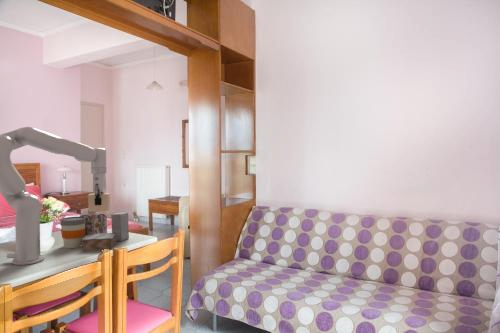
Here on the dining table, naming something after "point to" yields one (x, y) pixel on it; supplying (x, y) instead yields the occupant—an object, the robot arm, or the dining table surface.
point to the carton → (104, 202)
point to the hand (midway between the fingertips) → (99, 203)
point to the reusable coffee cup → (73, 231)
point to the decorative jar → (95, 222)
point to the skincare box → (120, 226)
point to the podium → (99, 241)
